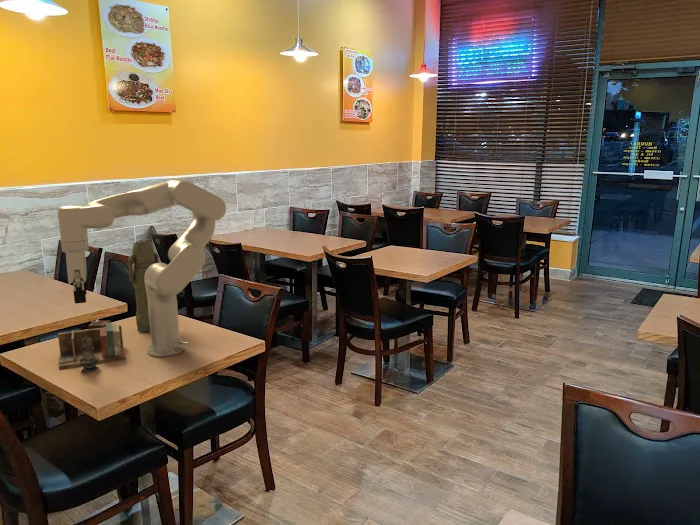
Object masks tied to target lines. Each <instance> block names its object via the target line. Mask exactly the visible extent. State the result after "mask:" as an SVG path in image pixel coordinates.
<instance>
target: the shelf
mask: <svg viewBox="0 0 700 525" xmlns="http://www.w3.org/2000/svg"><path fill="white" fill-rule="evenodd" d="M74 334H75V343H76V361H74V362H68V363H61V364H59V363H58V370H63V369H70V368H78V367H82V366H81V364H80V363H79V360H80V359H81V358H83V351H82V348H83V346H82V340H83V339H84V338H85V336H86V335H87V337H90V338H91V339H92V347H94V349H93V354H94V356H97V357H99V360H98V363H97V365H98V364H103V363H110V362H117V361H123V360H126V353H125V349H124V348H125V347H124V342H123V341H124V339H123V330H122V324H119V323H118V322H115V323H113V322H111V323H106V327H103V328H96V329H88V328H87V329H82V330H74ZM57 337H58V346H59V352H60V353H66V352H73V348H72V331H66V332H58V333H57ZM60 353H59V354H60Z"/></svg>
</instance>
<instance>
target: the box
mask: <svg viewBox="0 0 700 525" xmlns="http://www.w3.org/2000/svg"><path fill="white" fill-rule="evenodd" d="M106 323H112V320H94V321H93V322H91V323H90V324H88V325H87V330H88V329H96V328H103V327H106Z"/></svg>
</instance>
